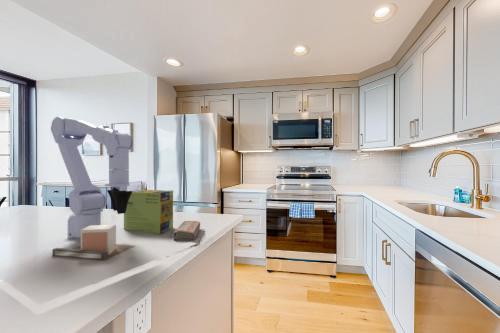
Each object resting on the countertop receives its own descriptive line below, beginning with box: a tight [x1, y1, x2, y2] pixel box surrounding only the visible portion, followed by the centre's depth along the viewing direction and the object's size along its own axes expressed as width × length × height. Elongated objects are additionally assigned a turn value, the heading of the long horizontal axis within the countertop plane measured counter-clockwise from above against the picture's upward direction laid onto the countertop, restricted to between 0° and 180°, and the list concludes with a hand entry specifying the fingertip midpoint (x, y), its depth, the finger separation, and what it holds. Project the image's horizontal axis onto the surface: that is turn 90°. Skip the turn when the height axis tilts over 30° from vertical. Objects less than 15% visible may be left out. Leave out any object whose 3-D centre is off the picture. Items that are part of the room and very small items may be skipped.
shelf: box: [51, 243, 135, 261], centre depth 70 cm, size 16×12×3 cm
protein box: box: [123, 189, 174, 235], centre depth 98 cm, size 10×15×16 cm
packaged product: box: [170, 220, 205, 246], centre depth 88 cm, size 18×5×10 cm
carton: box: [80, 224, 117, 255], centre depth 69 cm, size 5×7×7 cm
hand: (119, 211), depth 80 cm, fingers open, 7 cm apart
